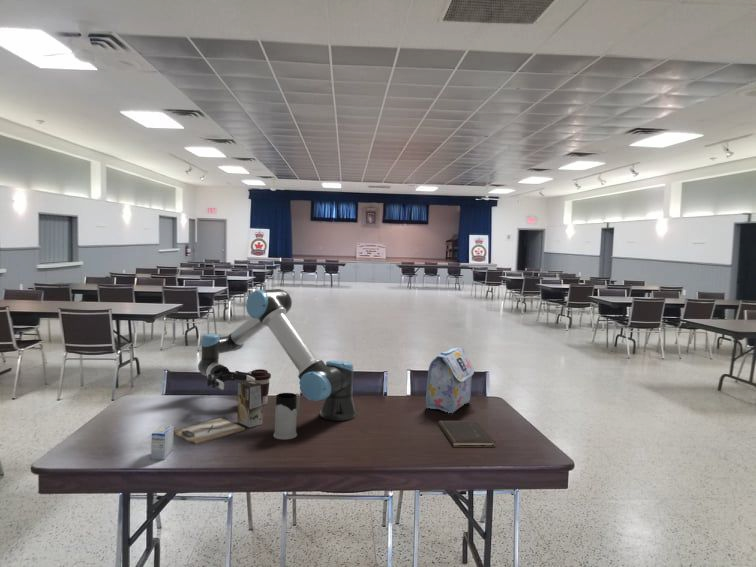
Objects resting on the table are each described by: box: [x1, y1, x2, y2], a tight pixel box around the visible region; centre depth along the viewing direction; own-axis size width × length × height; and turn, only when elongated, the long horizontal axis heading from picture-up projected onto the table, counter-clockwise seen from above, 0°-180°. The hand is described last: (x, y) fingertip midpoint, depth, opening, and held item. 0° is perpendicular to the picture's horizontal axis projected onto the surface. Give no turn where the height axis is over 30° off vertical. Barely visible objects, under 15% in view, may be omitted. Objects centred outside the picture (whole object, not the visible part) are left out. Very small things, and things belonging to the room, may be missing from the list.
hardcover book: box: [438, 420, 496, 446], centre depth 184 cm, size 16×23×2 cm
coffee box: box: [237, 380, 264, 428], centre depth 188 cm, size 9×6×16 cm
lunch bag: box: [425, 347, 475, 414], centre depth 220 cm, size 22×17×26 cm
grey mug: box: [272, 392, 301, 440], centre depth 179 cm, size 9×14×15 cm, turn 160°
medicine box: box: [150, 424, 175, 461], centre depth 155 cm, size 8×4×9 cm, turn 5°
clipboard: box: [174, 417, 246, 445], centre depth 178 cm, size 16×20×2 cm
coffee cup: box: [249, 368, 272, 406], centre depth 213 cm, size 10×10×15 cm
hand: (239, 383), depth 195 cm, fingers open, 13 cm apart
